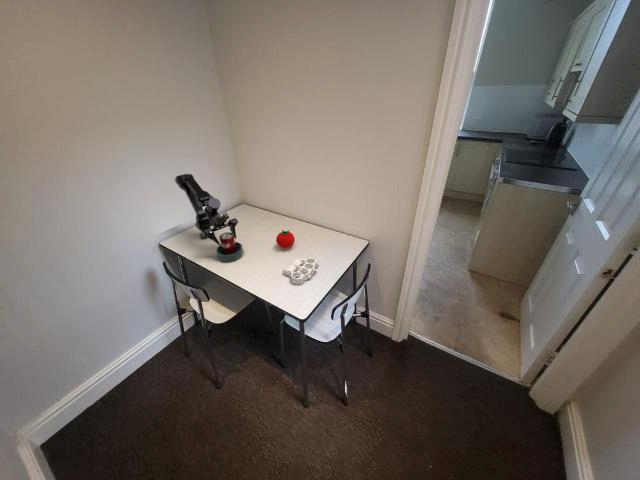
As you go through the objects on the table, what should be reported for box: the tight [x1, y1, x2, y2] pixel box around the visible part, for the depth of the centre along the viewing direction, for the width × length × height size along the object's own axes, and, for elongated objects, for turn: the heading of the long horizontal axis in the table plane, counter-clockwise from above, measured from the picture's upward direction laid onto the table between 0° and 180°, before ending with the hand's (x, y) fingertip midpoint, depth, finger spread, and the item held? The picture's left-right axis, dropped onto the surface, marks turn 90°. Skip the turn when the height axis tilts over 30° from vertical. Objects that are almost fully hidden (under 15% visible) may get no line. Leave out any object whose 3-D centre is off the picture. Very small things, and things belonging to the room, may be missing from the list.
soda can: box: [218, 231, 237, 255], centre depth 136 cm, size 7×7×12 cm
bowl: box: [215, 241, 244, 263], centre depth 138 cm, size 13×13×4 cm
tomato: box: [275, 229, 296, 249], centre depth 143 cm, size 10×10×10 cm
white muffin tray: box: [282, 257, 318, 285], centre depth 126 cm, size 3×18×15 cm
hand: (228, 241), depth 134 cm, fingers open, 9 cm apart
